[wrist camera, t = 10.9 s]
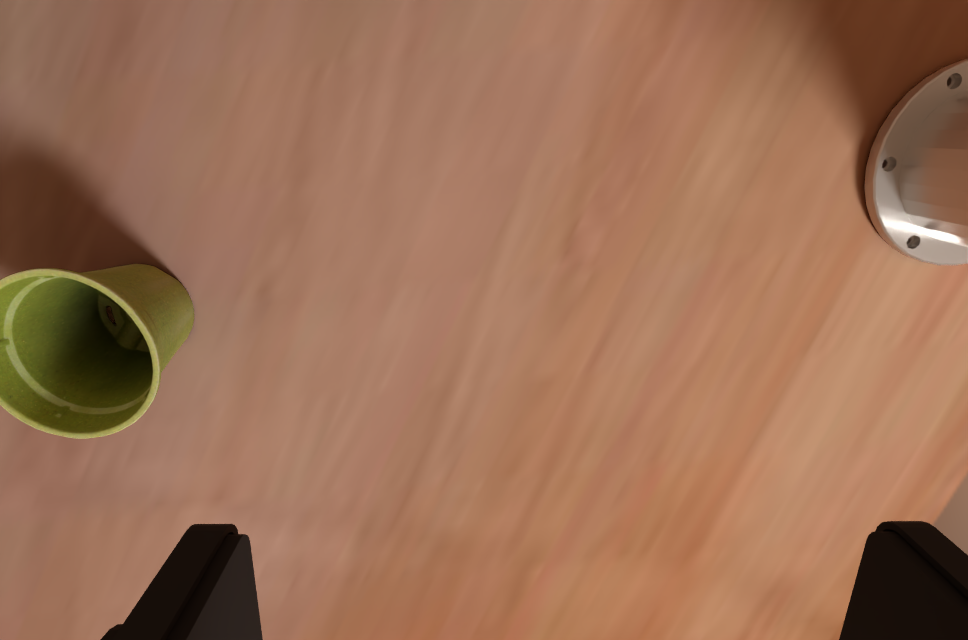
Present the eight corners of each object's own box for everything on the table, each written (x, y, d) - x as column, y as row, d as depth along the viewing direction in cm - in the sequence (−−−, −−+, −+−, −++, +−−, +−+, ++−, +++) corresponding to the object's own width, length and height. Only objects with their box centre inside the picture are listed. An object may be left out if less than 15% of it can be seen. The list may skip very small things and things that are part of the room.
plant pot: (191, 222, 37) (113, 251, 29) (242, 358, 40) (184, 420, 32) (49, 254, 37) (-69, 291, 29) (109, 386, 40) (18, 454, 32)
